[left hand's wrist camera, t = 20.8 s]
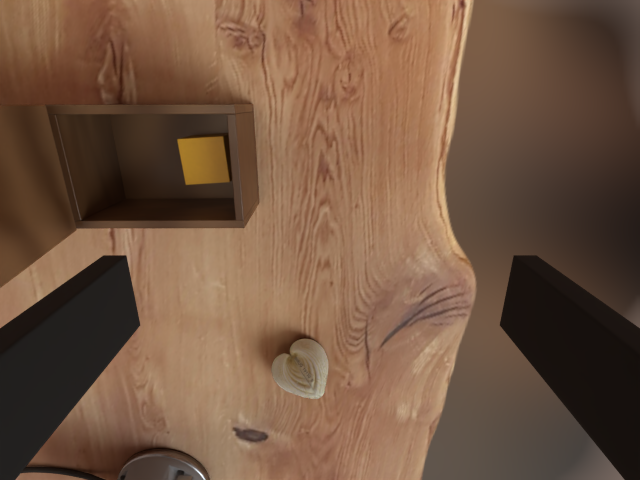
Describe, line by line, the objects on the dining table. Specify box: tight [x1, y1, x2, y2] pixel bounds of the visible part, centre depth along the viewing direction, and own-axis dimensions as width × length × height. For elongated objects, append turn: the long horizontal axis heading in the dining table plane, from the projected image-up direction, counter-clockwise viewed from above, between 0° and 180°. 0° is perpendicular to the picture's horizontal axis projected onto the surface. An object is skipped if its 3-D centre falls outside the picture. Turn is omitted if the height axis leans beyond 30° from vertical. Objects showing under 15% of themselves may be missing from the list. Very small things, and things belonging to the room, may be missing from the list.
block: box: [177, 133, 232, 185], centre depth 41 cm, size 5×5×5 cm
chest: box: [45, 104, 259, 228], centre depth 40 cm, size 17×12×10 cm
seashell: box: [272, 339, 328, 399], centre depth 52 cm, size 8×8×8 cm
